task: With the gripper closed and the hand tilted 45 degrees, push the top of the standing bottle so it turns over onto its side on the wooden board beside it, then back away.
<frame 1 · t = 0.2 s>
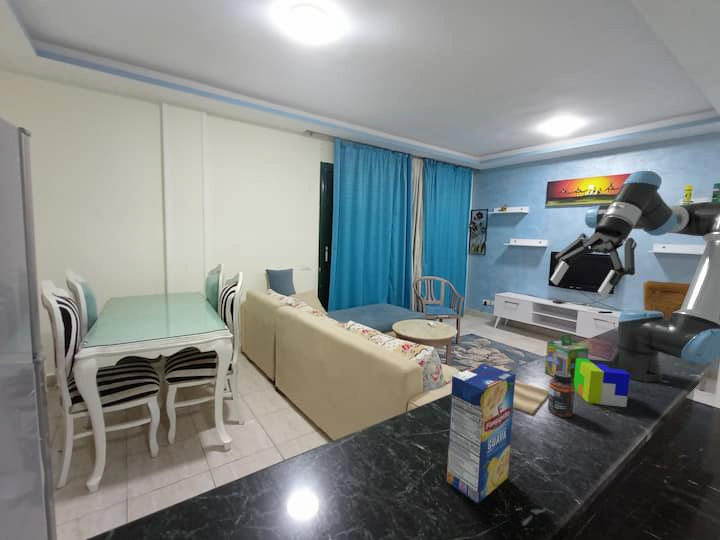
hand: (575, 288, 89), 35 cm above the countertop, tool tilted 35°, fingers open, 13 cm apart
puzzle toy: (598, 397, 101), on the countertop
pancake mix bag: (663, 338, 161), on the countertop
supplement bottle: (559, 413, 92), on the countertop
wooden board: (520, 396, 101), on the countertop
chalk box: (564, 377, 115), on the countertop
beverage box: (477, 480, 66), on the countertop
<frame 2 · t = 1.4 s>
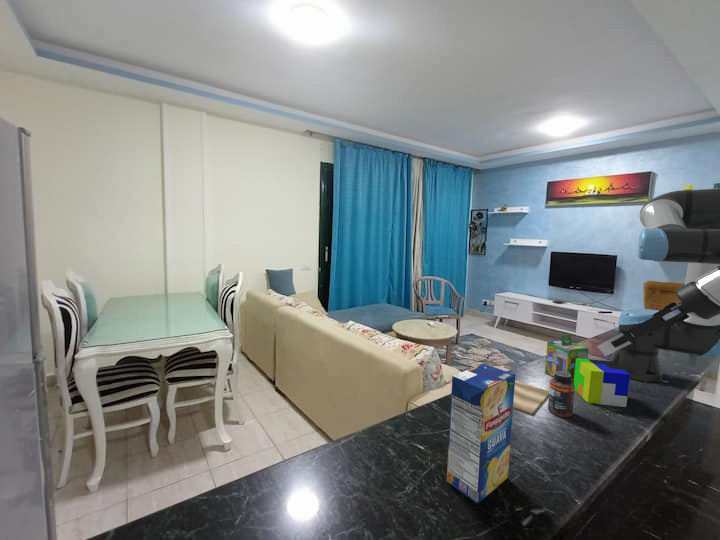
hand: (609, 347, 82), 22 cm above the countertop, tool tilted 45°, fingers open, 9 cm apart
nothing on the countertop moved.
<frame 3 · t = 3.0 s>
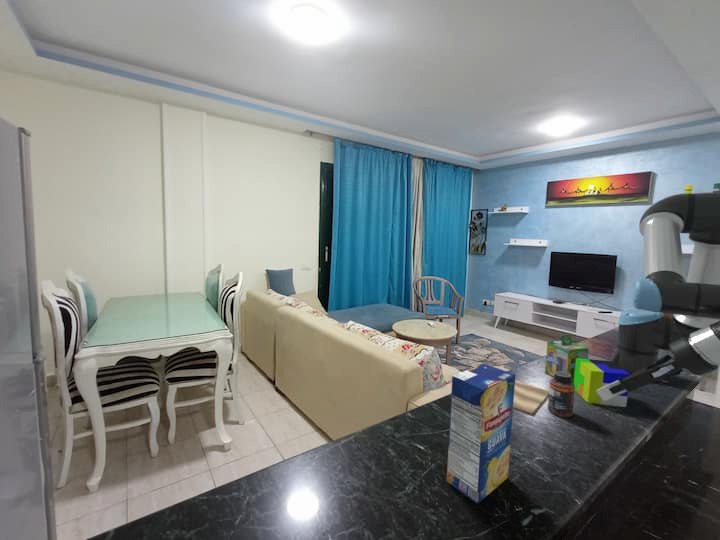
hand: (600, 394, 83), 9 cm above the countertop, tool tilted 45°, fingers closed
nothing on the countertop moved.
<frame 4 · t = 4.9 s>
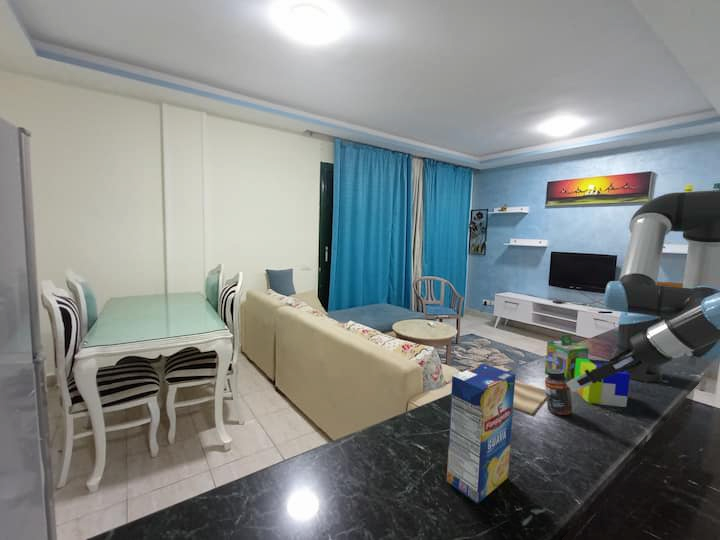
hand: (570, 387, 88), 9 cm above the countertop, tool tilted 45°, fingers closed
supplement bottle: (559, 411, 92), on the countertop, touching gripper
everything else where it was.
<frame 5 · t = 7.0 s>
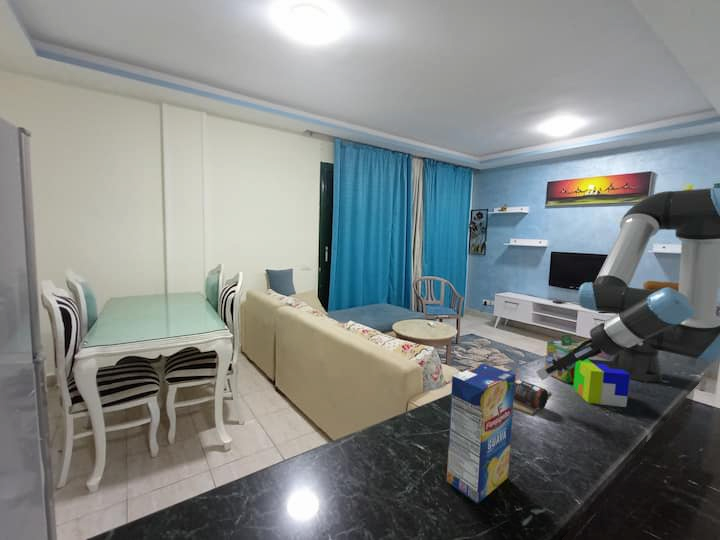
hand: (540, 375, 96), 9 cm above the countertop, tool tilted 45°, fingers closed
supplement bottle: (544, 400, 91), point 4 cm above the countertop, touching wooden board
everything else where it was.
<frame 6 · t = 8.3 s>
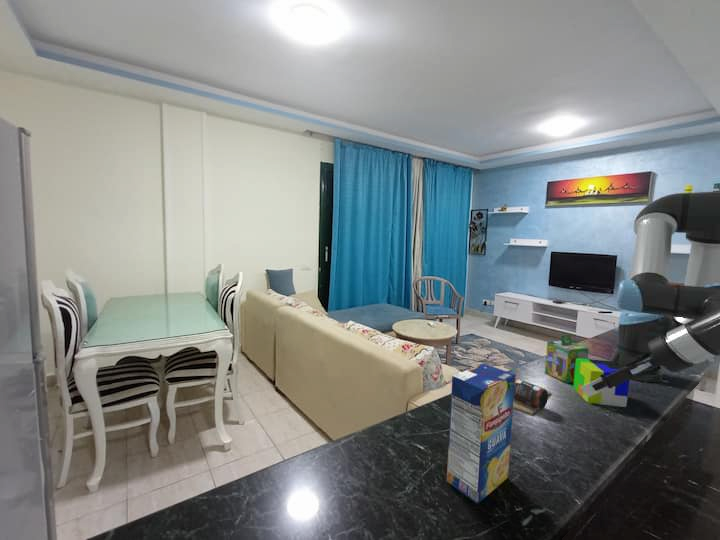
hand: (585, 391, 86), 9 cm above the countertop, tool tilted 45°, fingers closed
nothing on the countertop moved.
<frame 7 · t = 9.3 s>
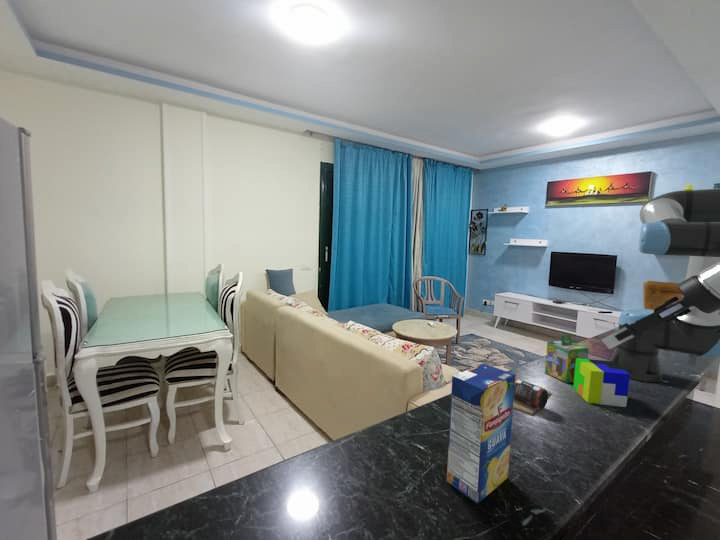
hand: (606, 343, 82), 23 cm above the countertop, tool tilted 45°, fingers closed
nothing on the countertop moved.
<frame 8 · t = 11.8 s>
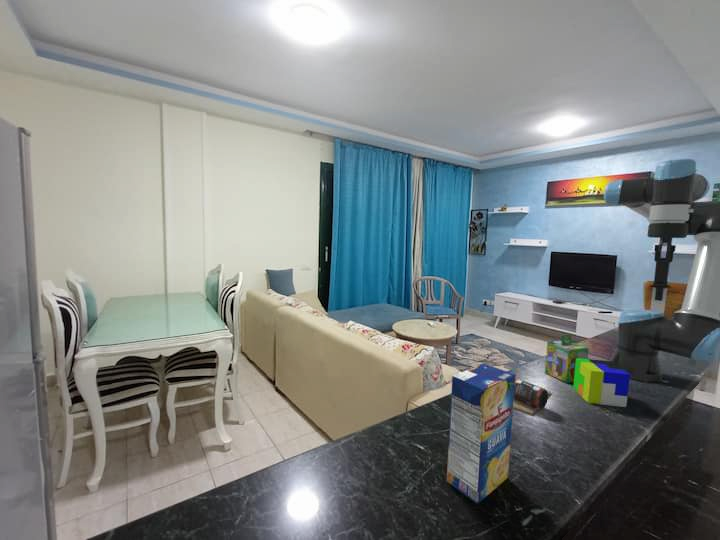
hand: (657, 311, 87), 29 cm above the countertop, tool pointing down, fingers closed
nothing on the countertop moved.
at the end: supplement bottle tilted 90°; supplement bottle inside the target area (8.6 cm from its centre), point 3.6 cm above the countertop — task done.
